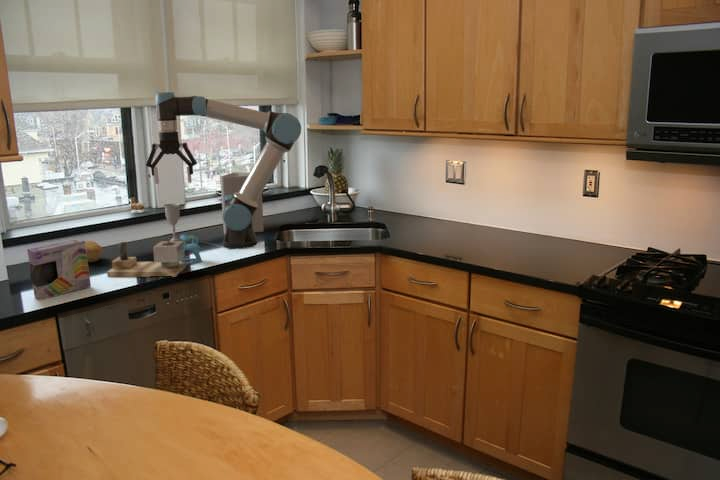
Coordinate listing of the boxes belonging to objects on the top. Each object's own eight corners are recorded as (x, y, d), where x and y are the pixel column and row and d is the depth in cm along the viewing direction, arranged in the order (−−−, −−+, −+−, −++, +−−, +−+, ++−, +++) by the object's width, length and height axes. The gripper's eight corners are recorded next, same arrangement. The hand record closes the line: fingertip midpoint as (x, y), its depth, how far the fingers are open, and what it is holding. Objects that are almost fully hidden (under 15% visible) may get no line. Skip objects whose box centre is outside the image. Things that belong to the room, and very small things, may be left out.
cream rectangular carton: (256, 225, 323) (254, 171, 317) (264, 231, 310) (261, 175, 303) (219, 229, 316) (216, 173, 309) (225, 235, 303) (221, 177, 296)
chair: (204, 263, 255) (202, 234, 252) (183, 266, 251) (181, 237, 248) (197, 258, 261) (195, 230, 259) (178, 261, 257) (175, 233, 254)
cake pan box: (36, 301, 211) (29, 250, 207) (30, 298, 214) (23, 248, 210) (92, 287, 225) (86, 240, 220) (85, 285, 228) (80, 237, 224)
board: (186, 266, 250) (184, 237, 247) (175, 276, 237) (172, 246, 234) (122, 266, 251) (119, 237, 248) (107, 276, 238) (104, 246, 235)
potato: (78, 267, 250) (75, 248, 248) (78, 259, 263) (76, 240, 261) (104, 264, 254) (102, 245, 252) (103, 256, 267) (101, 238, 265)
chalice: (170, 246, 283) (167, 206, 279) (164, 243, 288) (160, 204, 284) (185, 243, 288) (182, 204, 283) (179, 240, 293) (176, 202, 288)
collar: (184, 256, 247) (183, 241, 245) (177, 262, 238) (176, 247, 236) (162, 256, 247) (161, 241, 245) (154, 262, 238) (152, 247, 237)
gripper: (134, 132, 251) (140, 185, 256) (197, 130, 251) (201, 183, 256) (140, 131, 258) (146, 182, 263) (201, 129, 259) (205, 180, 264)
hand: (173, 183), depth 260 cm, fingers open, 13 cm apart
